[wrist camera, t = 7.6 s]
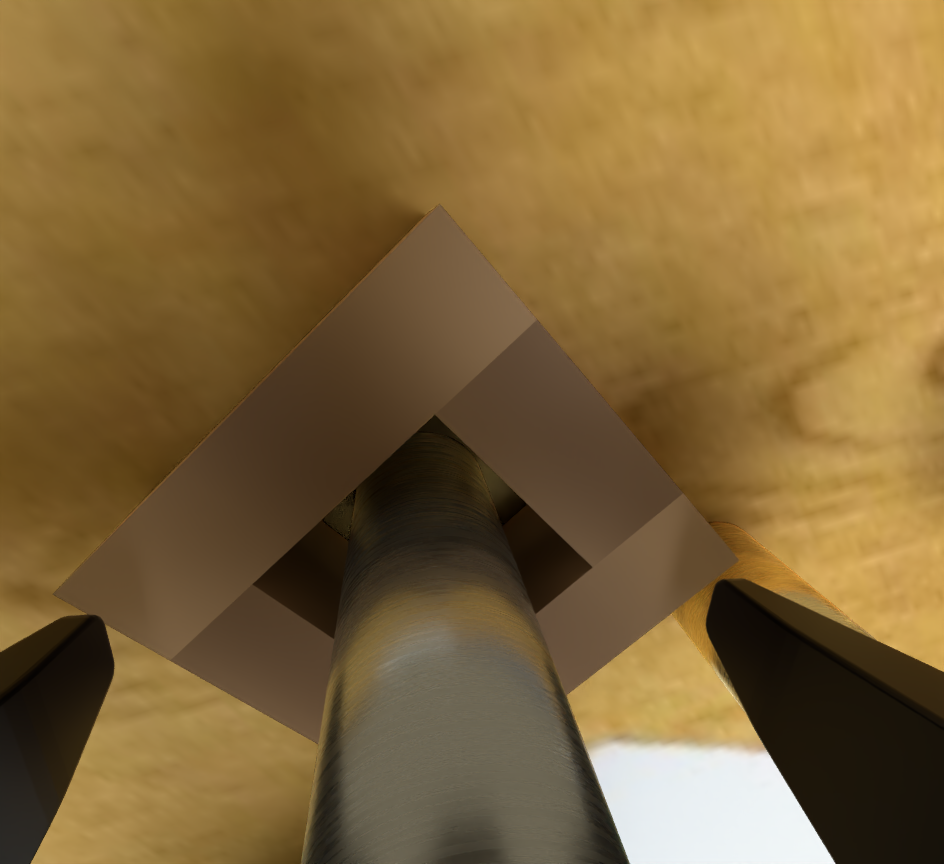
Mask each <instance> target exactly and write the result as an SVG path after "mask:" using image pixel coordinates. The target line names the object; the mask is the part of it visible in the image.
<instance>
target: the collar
mask: <svg viewBox="0 0 944 864" xmlns="http://www.w3.org/2000/svg"><path fill="white" fill-rule="evenodd" d="M434 415H436V416H437V417H438V418H439V419H440V420H441V421H442V422H443V423H444V424H445V425H446V426H447V427H448V428H449V429H450V430H451V431H452V432H453V433H454V434H456V435H457V436H458V437H459V438H460V439H461V440H462V441H463V442H464V443H465V444H466V445H467V446H468V447H469V448H470V449H471V450H472V451H473V452H474V453H475V454H476V455H477V456H478V457H479V458H480V459H481V460H482V461H483V462H484V463H485V464H487V465H488V466H489V467H490V468H491V469H492V470H493V471H494V472H495V473H496V474H497V475H498V476H499V477H500V478H501V479H502V480H503V481H504V482H505V483H506V484H507V485H508V486H509V487H510V488H511V489H512V490H513V491H514V492H515V493H516V494H517V495H519V496H520V497H521V498H522V499H523V500H524V501H525V502H526V503H527V505H526V506H525V507H524V508H522V509H521V510H520V511H519V512H518V513H517V514H516V515H514V516H513V517H512V518H511V519H510V520H509V521H507V522H506V523H505V524H504V525H503V526H502V527H503V530H504V533H505V535H506V538H507V540H508V543H509V546H510V548H511V551H512V554H513V556H514V559H515V562H516V564H517V567H518V570H519V572H520V575H521V578H522V580H523V583H524V585H525V588H526V591H527V593H528V596H529V599H530V601H531V604H532V607H533V609H534V612H535V615H536V617H537V620H538V622H539V625H540V628H541V630H542V633H543V636H544V638H545V641H546V644H547V646H548V649H549V652H550V654H551V657H552V659H553V662H554V665H555V667H556V670H557V673H558V675H559V678H560V681H561V683H562V686H563V689H564V691H565V694H566V695H567V694H569V693H570V692H571V691H572V690H574V689H575V688H576V687H578V686H579V685H580V684H581V683H583V682H584V681H585V680H587V679H588V678H589V677H590V676H592V675H593V674H594V673H596V672H597V671H598V670H599V669H601V668H602V667H603V666H604V665H606V664H607V663H608V662H610V661H611V660H612V659H613V658H615V657H616V656H617V655H619V654H620V653H621V652H622V651H624V650H625V649H626V648H628V647H629V646H630V645H631V644H633V643H634V642H635V641H637V640H638V639H639V638H640V637H642V636H643V635H644V634H645V633H647V632H648V631H649V630H651V629H652V628H653V627H654V626H656V625H657V624H658V623H660V622H661V621H662V620H663V619H665V618H666V617H667V616H669V615H670V614H671V613H672V612H674V611H675V610H676V609H677V608H679V607H680V606H681V605H683V604H684V603H685V602H686V601H688V600H689V599H690V598H692V597H693V596H694V595H695V594H697V593H698V592H699V591H701V590H702V589H703V588H704V587H706V586H707V585H708V584H709V583H711V582H712V581H713V580H715V579H716V578H717V577H718V576H720V575H721V574H722V573H724V572H725V571H726V570H727V569H729V568H730V567H731V566H733V565H734V564H735V563H736V562H738V561H739V559H738V558H737V557H736V555H735V554H734V553H733V552H732V551H731V550H730V548H729V547H728V546H727V545H726V544H725V542H724V541H723V540H722V539H721V538H720V536H719V535H718V534H717V533H716V532H715V531H714V529H713V528H712V527H711V526H710V525H709V523H708V522H707V521H706V520H705V519H704V517H703V516H702V515H701V514H700V513H699V511H698V510H697V509H696V508H695V507H694V506H693V504H692V503H691V502H690V501H689V500H688V498H687V497H686V496H685V495H684V494H683V492H682V491H681V490H680V489H679V488H678V487H677V485H676V484H675V483H674V482H673V481H672V479H671V478H670V477H669V476H668V475H667V473H666V472H665V471H664V470H663V469H662V468H661V466H660V465H659V464H658V463H657V462H656V460H655V459H654V458H653V457H652V456H651V454H650V453H649V452H648V451H647V450H646V448H645V447H644V446H643V445H642V444H641V443H640V441H639V440H638V439H637V438H636V437H635V435H634V434H633V433H632V432H631V431H630V429H629V428H628V427H627V426H626V425H625V424H624V422H623V421H622V420H621V419H620V418H619V416H618V415H617V414H616V413H615V412H614V410H613V409H612V408H611V407H610V406H609V404H608V403H607V402H606V401H605V400H604V399H603V397H602V396H601V395H600V394H599V393H598V391H597V390H596V389H595V388H594V387H593V385H592V384H591V383H590V382H589V381H588V380H587V378H586V377H585V376H584V375H583V374H582V372H581V371H580V370H579V369H578V368H577V366H576V365H575V364H574V363H573V362H572V360H571V359H570V358H569V357H568V356H567V355H566V353H565V352H564V351H563V350H562V349H561V347H560V346H559V345H558V344H557V343H556V341H555V340H554V339H553V338H552V337H551V336H550V334H549V333H548V332H547V331H546V330H545V328H544V327H543V326H542V325H541V324H540V322H539V321H538V320H537V319H536V318H535V316H534V315H533V314H532V313H531V312H530V311H529V309H528V308H527V307H526V306H525V305H524V303H523V302H522V301H521V300H520V299H519V297H518V296H517V295H516V294H515V293H514V292H513V290H512V289H511V288H510V287H509V286H508V284H507V283H506V282H505V281H504V280H503V278H502V277H501V276H500V275H499V274H498V272H497V271H496V270H495V269H494V268H493V267H492V265H491V264H490V263H489V262H488V261H487V259H486V258H485V257H484V256H483V255H482V253H481V252H480V251H479V250H478V249H477V248H476V246H475V245H474V244H473V243H472V242H471V240H470V239H469V238H468V237H467V236H466V234H465V233H464V232H463V231H462V230H461V229H460V227H459V226H458V225H457V224H456V223H455V221H454V220H453V219H452V218H451V217H450V215H449V214H448V213H447V212H446V211H445V209H444V208H443V207H442V206H441V205H440V204H439V205H438V206H436V207H435V208H434V209H433V210H431V211H430V212H429V213H427V214H426V215H425V216H424V217H423V218H422V219H421V220H420V221H419V222H418V223H417V224H416V225H415V226H414V227H413V228H412V229H411V230H410V231H409V232H408V233H407V234H406V235H405V236H404V237H403V238H402V239H401V240H400V241H399V242H398V243H397V244H396V245H395V246H394V247H393V248H392V249H391V250H390V251H389V252H388V253H387V254H386V255H385V256H384V257H383V258H382V259H381V260H380V261H379V262H378V263H377V264H376V265H375V266H374V267H373V268H372V269H371V270H370V271H369V273H368V274H367V275H366V276H365V277H364V278H363V279H362V280H361V281H360V282H359V283H358V284H357V285H356V286H355V287H354V288H353V289H352V290H351V291H350V292H349V293H348V294H347V295H346V296H345V297H344V298H343V299H342V300H341V301H340V302H339V303H338V304H337V305H336V306H335V307H334V308H333V309H332V310H331V311H330V312H329V313H328V314H327V315H326V316H325V317H324V318H323V319H322V320H321V321H320V322H319V323H318V324H317V325H316V326H315V327H314V328H313V329H312V330H311V331H310V332H309V333H308V334H307V335H306V336H305V337H304V338H303V339H302V340H301V341H300V342H299V343H298V344H297V345H296V346H295V347H294V348H293V349H292V350H291V351H290V352H289V353H288V354H287V355H286V356H285V357H284V358H283V359H282V360H281V361H280V362H279V363H278V364H277V365H276V366H275V367H274V368H273V369H272V370H271V371H270V372H269V373H268V374H267V375H266V376H265V377H264V378H263V380H262V381H261V382H260V383H259V384H258V385H257V386H256V387H255V388H254V389H253V390H252V391H251V392H250V393H249V394H248V395H247V396H246V397H245V398H244V399H243V400H242V401H241V402H240V403H239V404H238V405H237V406H236V407H235V408H234V409H233V410H232V411H231V412H230V413H229V414H228V415H227V416H226V417H225V418H224V419H223V420H222V421H221V422H220V423H219V424H218V425H217V426H216V427H215V428H214V429H213V430H212V431H211V432H210V433H209V434H208V435H207V436H206V437H205V438H204V439H203V440H202V441H201V442H200V443H199V444H198V445H197V446H196V447H195V448H194V449H193V450H192V451H191V452H190V453H189V454H188V455H187V456H186V457H185V458H184V459H183V460H182V461H181V462H180V463H179V464H178V465H177V466H176V467H175V468H174V469H173V470H172V471H171V472H170V473H169V474H168V475H167V476H166V477H165V478H164V479H163V480H162V481H161V482H160V483H159V484H158V485H157V487H156V488H155V489H154V490H153V491H152V492H151V493H150V494H149V495H148V496H147V497H146V498H145V499H144V500H143V501H142V502H141V503H140V504H139V505H138V506H137V507H136V508H135V509H134V510H133V511H132V512H131V513H130V514H129V515H128V516H127V517H126V518H125V519H124V520H123V522H122V523H121V524H120V525H119V526H118V527H117V528H116V529H115V530H114V531H113V532H112V533H111V534H110V535H109V536H108V537H107V538H106V539H105V540H104V541H103V542H102V543H101V544H100V545H99V546H98V548H97V549H96V550H95V551H94V552H93V553H92V554H91V555H90V556H89V557H88V558H87V559H86V560H85V561H84V562H83V563H82V564H81V565H80V566H79V567H78V568H77V569H76V570H75V571H74V573H73V574H72V575H71V576H70V577H69V578H68V579H67V580H66V581H65V582H64V583H63V584H62V585H61V586H60V587H59V588H58V589H57V590H56V591H55V592H54V593H53V595H55V596H56V597H58V598H60V599H62V600H64V601H65V602H67V603H69V604H71V605H72V606H74V607H76V608H78V609H79V610H81V611H83V612H85V613H87V614H88V615H97V616H99V617H101V618H102V620H103V621H104V624H106V625H108V626H110V627H111V628H113V629H115V630H117V631H118V632H120V633H122V634H124V635H126V636H127V637H129V638H131V639H133V640H134V641H136V642H138V643H140V644H141V645H143V646H145V647H147V648H149V649H150V650H152V651H154V652H156V653H157V654H159V655H161V656H163V657H165V658H166V659H168V660H170V661H172V662H173V663H175V664H177V665H179V666H180V667H182V668H184V669H186V670H188V671H189V672H191V673H193V674H195V675H196V676H198V677H200V678H202V679H203V680H205V681H207V682H209V683H211V684H212V685H214V686H216V687H218V688H219V689H221V690H223V691H225V692H227V693H228V694H230V695H232V696H234V697H235V698H237V699H239V700H241V701H242V702H244V703H246V704H248V705H250V706H251V707H253V708H255V709H257V710H258V711H260V712H262V713H264V714H266V715H267V716H269V717H271V718H273V719H274V720H276V721H278V722H280V723H281V724H283V725H285V726H287V727H289V728H290V729H292V730H294V731H296V732H297V733H299V734H301V735H303V736H304V737H306V738H308V739H310V740H312V741H313V742H315V743H317V744H319V738H320V731H321V725H322V718H323V711H324V704H325V698H326V691H327V684H328V678H329V671H330V664H331V657H332V651H333V644H334V637H335V631H336V624H337V617H338V610H339V604H340V597H341V590H342V584H343V577H344V570H345V563H346V557H347V550H348V543H349V541H347V540H346V539H345V538H343V537H342V536H341V535H340V534H338V533H337V532H336V531H334V530H333V529H332V528H330V527H329V526H328V525H327V524H325V523H324V522H323V521H321V520H322V519H323V518H324V517H325V516H326V515H327V514H328V513H330V512H331V511H332V510H333V509H334V508H335V507H336V506H337V505H338V504H339V503H340V502H341V501H342V500H344V499H345V498H346V497H347V496H348V495H349V494H350V493H351V492H352V491H353V490H354V489H355V488H356V487H358V486H359V485H360V484H361V483H362V482H363V481H364V480H365V479H366V478H367V477H368V476H369V475H370V474H371V473H373V472H374V471H375V470H376V469H377V468H378V467H379V466H380V465H381V464H382V463H383V462H384V461H385V460H387V459H388V458H389V457H390V456H391V455H392V454H393V453H394V452H395V451H396V450H397V449H398V448H399V447H401V446H402V445H403V444H404V443H405V442H406V441H407V440H408V439H409V438H410V437H411V436H412V435H413V434H415V433H416V432H417V431H418V430H419V429H420V428H421V427H422V426H423V425H424V424H425V423H426V422H427V421H429V420H430V419H431V418H432V417H433V416H434Z"/></svg>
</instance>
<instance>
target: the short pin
mask: <svg viewBox="0 0 944 864" xmlns="http://www.w3.org/2000/svg"><path fill="white" fill-rule="evenodd" d="M709 525H710V526H711V527H712V528H713V529H714V531H715V532H716V533H717V534H718V535H719V536H720V538H721V539H722V540H723V541H724V542H725V544H726V545H727V546H728V547H729V548H730V550H731V551H732V552H733V553H734V554H735V555H736V557H737V558H738V559H739V561H738V562H736V563H735V564H734V565H733V566H731V567H730V568H729V569H727V570H726V571H725V572H724V573H722V574H721V575H720V576H718V577H717V578H716V579H715V580H713V581H712V582H711V583H709V584H708V585H707V586H706V587H704V588H703V589H702V590H701V591H699V592H698V593H697V594H695V595H694V596H693V597H692V598H690V599H689V600H688V601H686V602H685V603H684V604H683V605H681V606H680V607H679V608H677V609H676V610H675V611H674V612H672V613H671V614H672V615H673V617H674V618H675V619H676V621H677V622H678V623H679V625H680V626H681V627H682V629H683V630H684V631H685V633H686V634H687V635H688V637H689V638H690V639H691V641H692V642H693V643H694V645H695V646H696V647H697V649H698V650H699V651H700V653H701V654H702V656H703V657H704V658H705V660H706V661H707V662H708V664H709V665H710V666H711V668H712V669H713V670H714V672H715V673H716V674H717V676H718V677H719V678H720V680H721V681H722V682H723V684H724V685H725V686H726V688H727V689H728V690H729V692H730V693H731V694H732V696H733V697H734V699H735V700H736V701H737V703H738V704H739V705H740V707H741V708H742V709H743V711H744V712H745V710H744V708H743V706H742V704H741V702H740V700H739V698H738V696H737V694H736V692H735V690H734V688H733V686H732V684H731V682H730V680H729V678H728V676H727V674H726V672H725V670H724V668H723V666H722V663H721V661H720V659H719V657H718V655H717V653H716V651H715V649H714V647H713V645H712V643H711V641H710V639H709V637H708V634H707V631H706V617H707V613H708V609H709V605H710V601H711V597H712V593H713V590H714V586H715V584H716V583H717V582H718V581H719V580H722V579H734V578H743V579H747V580H749V581H751V582H754V583H756V584H758V585H760V586H762V587H764V588H766V589H768V590H771V591H773V592H775V593H777V594H779V595H781V596H783V597H785V598H787V599H790V600H792V601H794V602H796V603H798V604H800V605H802V606H804V607H807V608H809V609H811V610H813V611H815V612H817V613H819V614H821V615H824V616H826V617H828V618H830V619H832V620H834V621H836V622H838V623H841V624H843V625H845V626H847V627H849V628H851V629H853V630H855V631H858V632H860V633H862V634H864V635H866V636H868V637H870V638H872V639H874V638H873V637H872V636H871V635H870V634H868V633H867V632H866V631H865V630H864V629H862V628H861V627H860V626H859V625H858V624H856V623H855V622H854V621H853V620H851V619H850V618H849V617H848V616H847V615H845V614H844V613H843V612H842V611H841V610H839V609H838V608H837V607H836V606H835V605H833V604H832V603H831V602H830V601H829V600H827V599H826V598H825V597H824V596H822V595H821V594H820V593H819V592H818V591H816V590H815V589H814V588H813V587H812V586H810V585H809V584H808V583H807V582H806V581H804V580H803V579H802V578H801V577H800V576H798V575H797V574H796V573H795V572H793V571H792V570H791V569H790V568H789V567H787V566H786V565H785V564H784V563H783V562H781V561H780V560H779V559H778V558H777V557H775V556H774V555H773V554H772V553H771V552H769V551H768V550H767V549H766V548H764V547H763V546H762V545H761V544H760V543H758V542H757V541H756V540H755V539H754V538H752V537H751V536H750V535H749V534H748V533H746V532H745V531H744V530H743V529H741V528H740V527H738V526H736V525H733V524H730V523H725V522H711V523H709ZM875 640H876V639H875ZM745 713H746V712H745ZM746 715H747V714H746Z"/></svg>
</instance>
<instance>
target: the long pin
mask: <svg viewBox="0 0 944 864" xmlns="http://www.w3.org/2000/svg"><path fill="white" fill-rule="evenodd" d="M301 864H630V863H629V860H628V858H627V855H626V852H625V850H624V847H623V845H622V842H621V839H620V837H619V834H618V831H617V829H616V826H615V823H614V821H613V818H612V815H611V813H610V810H609V808H608V805H607V802H606V800H605V797H604V794H603V792H602V789H601V786H600V784H599V781H598V778H597V776H596V773H595V771H594V768H593V765H592V763H591V760H590V757H589V755H588V752H587V749H586V747H585V744H584V741H583V739H582V736H581V734H580V731H579V728H578V726H577V723H576V720H575V718H574V715H573V712H572V710H571V707H570V704H569V702H568V699H567V696H566V694H565V691H564V689H563V686H562V683H561V681H560V678H559V675H558V673H557V670H556V667H555V665H554V662H553V659H552V657H551V654H550V652H549V649H548V646H547V644H546V641H545V638H544V636H543V633H542V630H541V628H540V625H539V622H538V620H537V617H536V615H535V612H534V609H533V607H532V604H531V601H530V599H529V596H528V593H527V591H526V588H525V585H524V583H523V580H522V578H521V575H520V572H519V570H518V567H517V564H516V562H515V559H514V556H513V554H512V551H511V548H510V546H509V543H508V540H507V538H506V535H505V533H504V530H503V527H502V525H501V522H500V519H499V517H498V514H497V511H496V509H495V506H494V503H493V501H492V498H491V496H490V493H489V490H488V488H487V485H486V482H485V480H484V477H483V474H482V472H481V469H480V467H479V465H478V463H477V461H476V459H475V458H474V456H473V455H472V454H471V453H470V452H469V451H468V449H466V448H465V447H464V446H463V445H462V444H460V443H458V442H457V441H455V440H453V439H451V438H449V437H447V436H443V435H440V434H435V433H427V432H418V433H415V434H413V435H412V436H411V437H410V438H409V439H408V440H407V441H406V442H405V443H404V444H403V445H402V446H401V447H399V448H398V449H397V450H396V451H395V452H394V453H393V454H392V455H391V456H390V457H389V458H388V459H387V460H385V461H384V462H383V463H382V464H381V465H380V466H379V467H378V468H377V469H376V470H375V471H374V472H373V473H371V474H370V475H369V476H368V477H367V478H366V479H365V480H364V481H363V482H362V483H361V484H360V485H359V486H358V487H357V490H356V496H355V503H354V510H353V517H352V523H351V530H350V537H349V543H348V550H347V557H346V563H345V570H344V577H343V584H342V590H341V597H340V604H339V610H338V617H337V624H336V631H335V637H334V644H333V651H332V657H331V664H330V671H329V678H328V684H327V691H326V698H325V704H324V711H323V718H322V725H321V731H320V738H319V745H318V751H317V758H316V765H315V771H314V778H313V785H312V792H311V798H310V805H309V812H308V818H307V825H306V832H305V839H304V845H303V852H302V859H301Z"/></svg>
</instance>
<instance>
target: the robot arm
mask: <svg viewBox="0 0 944 864" xmlns="http://www.w3.org/2000/svg"><path fill="white" fill-rule="evenodd" d="M706 631H707V634H708V637H709V639H710V641H711V643H712V645H713V647H714V649H715V651H716V653H717V655H718V657H719V659H720V661H721V663H722V666H723V668H724V670H725V672H726V674H727V676H728V678H729V680H730V682H731V684H732V686H733V688H734V690H735V692H736V694H737V696H738V698H739V700H740V702H741V704H742V706H743V708H744V710H745V712H746V714H747V716H748V718H749V720H750V722H751V724H752V725H753V727H754V729H755V731H756V733H757V735H758V736H759V738H760V740H761V741H762V743H763V745H764V747H765V748H766V750H767V752H768V753H769V755H770V756H771V758H772V760H773V761H774V763H775V765H776V766H777V768H778V770H779V771H780V773H781V775H782V776H783V778H784V780H785V781H786V783H787V784H788V786H789V788H790V789H791V791H792V793H793V794H794V796H795V798H796V799H797V801H798V803H799V804H800V806H801V808H802V809H803V811H804V812H805V814H806V816H807V817H808V819H809V821H810V822H811V824H812V826H813V827H814V829H815V831H816V832H817V834H818V836H819V837H820V839H821V840H822V842H823V844H824V845H825V847H826V849H827V850H828V852H829V854H830V855H831V857H832V859H833V860H834V862H835V864H944V672H942V671H940V670H938V669H936V668H934V667H932V666H930V665H928V664H925V663H923V662H921V661H919V660H917V659H915V658H913V657H911V656H909V655H906V654H904V653H902V652H900V651H898V650H896V649H894V648H892V647H889V646H887V645H885V644H883V643H881V642H879V641H877V640H875V639H872V638H870V637H868V636H866V635H864V634H862V633H860V632H858V631H855V630H853V629H851V628H849V627H847V626H845V625H843V624H841V623H838V622H836V621H834V620H832V619H830V618H828V617H826V616H824V615H821V614H819V613H817V612H815V611H813V610H811V609H809V608H807V607H804V606H802V605H800V604H798V603H796V602H794V601H792V600H790V599H787V598H785V597H783V596H781V595H779V594H777V593H775V592H773V591H771V590H768V589H766V588H764V587H762V586H760V585H758V584H756V583H754V582H751V581H749V580H747V579H743V578H734V579H722V580H719V581H718V582H717V583H716V584H715V586H714V590H713V593H712V597H711V601H710V605H709V609H708V613H707V617H706ZM113 675H114V658H113V654H112V650H111V647H110V643H109V639H108V635H107V631H106V627H105V624H104V621H103V620H102V618H101V617H99V616H97V615H76V616H66V617H62V618H60V619H58V620H56V621H54V622H52V623H51V624H49V625H47V626H45V627H44V628H42V629H40V630H38V631H37V632H35V633H33V634H31V635H30V636H28V637H26V638H24V639H23V640H21V641H19V642H17V643H16V644H14V645H12V646H10V647H9V648H7V649H5V650H3V651H2V652H0V864H30V863H31V861H32V860H33V858H34V856H35V854H36V852H37V850H38V848H39V846H40V844H41V842H42V840H43V838H44V837H45V835H46V833H47V831H48V829H49V827H50V825H51V823H52V821H53V819H54V817H55V815H56V813H57V811H58V809H59V807H60V805H61V803H62V800H63V798H64V796H65V794H66V791H67V789H68V787H69V784H70V782H71V780H72V777H73V775H74V772H75V770H76V767H77V765H78V763H79V760H80V758H81V755H82V753H83V750H84V748H85V745H86V743H87V741H88V738H89V736H90V733H91V731H92V728H93V726H94V723H95V721H96V719H97V716H98V714H99V711H100V709H101V706H102V704H103V701H104V699H105V697H106V694H107V692H108V689H109V687H110V684H111V682H112V679H113Z"/></svg>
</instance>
